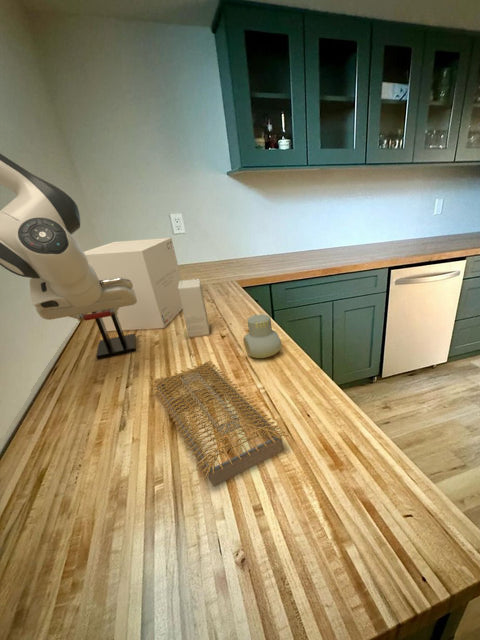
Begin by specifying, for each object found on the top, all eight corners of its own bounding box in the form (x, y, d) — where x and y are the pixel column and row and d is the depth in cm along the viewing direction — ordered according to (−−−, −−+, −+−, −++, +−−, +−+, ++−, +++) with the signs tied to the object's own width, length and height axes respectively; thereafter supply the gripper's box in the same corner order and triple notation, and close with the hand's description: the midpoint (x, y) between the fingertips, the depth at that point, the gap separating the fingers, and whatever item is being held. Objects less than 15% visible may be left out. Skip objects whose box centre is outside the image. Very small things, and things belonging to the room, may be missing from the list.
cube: (164, 327, 112) (141, 250, 99) (102, 331, 113) (72, 255, 100) (187, 303, 133) (171, 237, 121) (135, 306, 134) (113, 241, 122)
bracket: (136, 351, 97) (119, 305, 90) (97, 359, 94) (77, 312, 87) (135, 336, 106) (121, 294, 99) (101, 344, 103) (83, 300, 96)
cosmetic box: (190, 328, 110) (178, 280, 102) (210, 325, 111) (200, 277, 103) (189, 338, 103) (176, 287, 95) (211, 334, 104) (200, 284, 96)
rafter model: (153, 394, 76) (145, 370, 73) (213, 372, 83) (208, 350, 80) (210, 493, 50) (201, 463, 47) (290, 451, 57) (287, 422, 54)
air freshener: (285, 357, 87) (281, 321, 82) (254, 365, 84) (248, 328, 79) (271, 342, 96) (267, 308, 91) (243, 349, 93) (237, 314, 88)
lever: (112, 318, 85) (109, 308, 84) (86, 323, 83) (82, 313, 82) (116, 310, 97) (114, 302, 96) (93, 314, 95) (90, 306, 94)
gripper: (126, 265, 76) (139, 297, 89) (20, 280, 70) (50, 312, 83) (132, 289, 75) (144, 317, 88) (24, 306, 68) (55, 335, 81)
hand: (98, 315), depth 85 cm, fingers closed on lever, 6 cm apart
